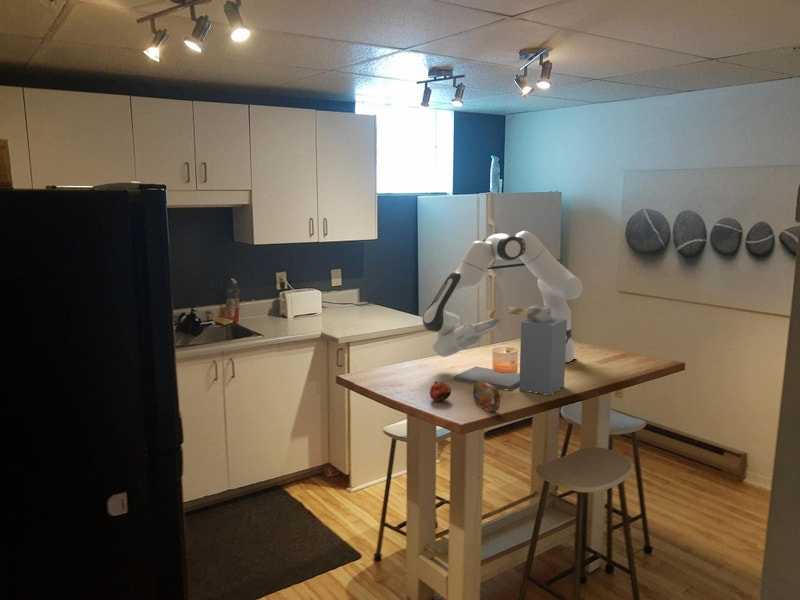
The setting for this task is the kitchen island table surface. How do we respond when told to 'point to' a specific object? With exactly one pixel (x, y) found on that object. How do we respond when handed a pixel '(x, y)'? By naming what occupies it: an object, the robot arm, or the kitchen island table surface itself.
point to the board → (489, 377)
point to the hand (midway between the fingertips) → (494, 321)
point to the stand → (542, 355)
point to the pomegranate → (440, 391)
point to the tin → (486, 396)
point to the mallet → (532, 312)
